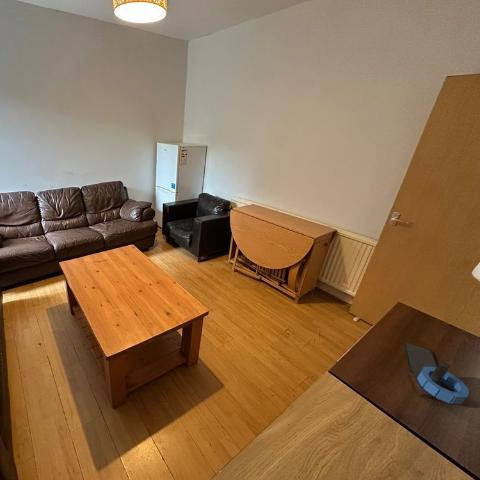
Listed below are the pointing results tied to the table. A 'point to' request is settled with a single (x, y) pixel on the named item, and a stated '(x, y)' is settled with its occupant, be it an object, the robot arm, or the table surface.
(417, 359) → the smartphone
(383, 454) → the table surface
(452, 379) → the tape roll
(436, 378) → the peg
